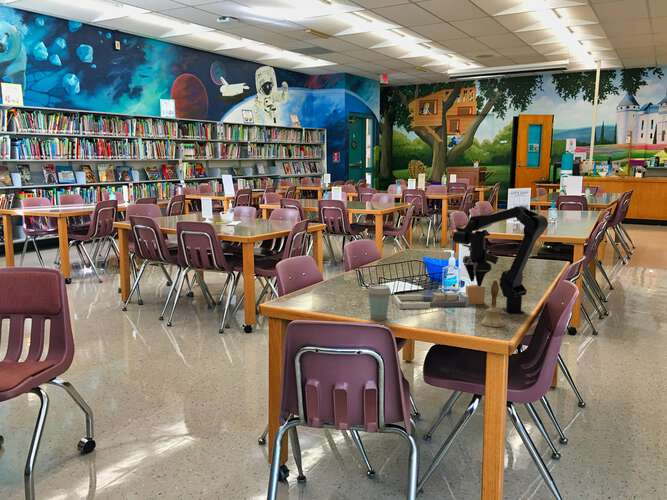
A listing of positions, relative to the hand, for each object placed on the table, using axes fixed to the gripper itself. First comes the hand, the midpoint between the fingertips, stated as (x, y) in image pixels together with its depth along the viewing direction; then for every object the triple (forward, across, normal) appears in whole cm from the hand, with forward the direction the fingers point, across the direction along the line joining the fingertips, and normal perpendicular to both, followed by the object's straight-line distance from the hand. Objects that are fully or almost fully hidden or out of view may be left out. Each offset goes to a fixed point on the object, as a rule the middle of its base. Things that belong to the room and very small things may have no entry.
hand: (475, 283), depth 239 cm
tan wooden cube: (+8, 0, +15) cm, 17 cm away
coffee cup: (+8, -20, +43) cm, 48 cm away
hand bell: (+8, -30, +3) cm, 31 cm away
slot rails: (+8, 0, +13) cm, 15 cm away
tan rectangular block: (+8, 0, 0) cm, 8 cm away
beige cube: (+8, 0, +10) cm, 13 cm away
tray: (+8, 0, +26) cm, 27 cm away
